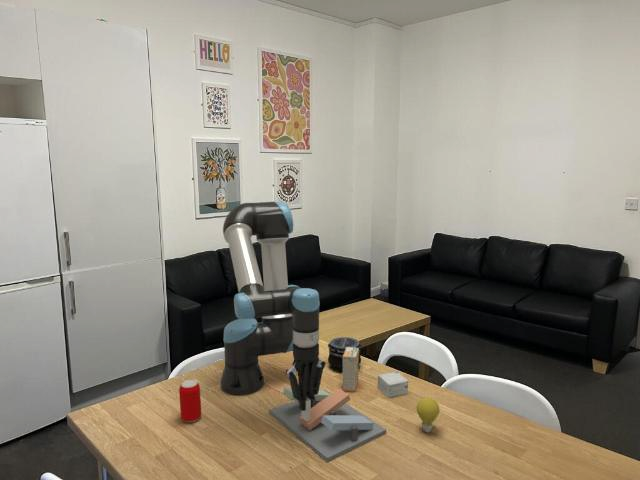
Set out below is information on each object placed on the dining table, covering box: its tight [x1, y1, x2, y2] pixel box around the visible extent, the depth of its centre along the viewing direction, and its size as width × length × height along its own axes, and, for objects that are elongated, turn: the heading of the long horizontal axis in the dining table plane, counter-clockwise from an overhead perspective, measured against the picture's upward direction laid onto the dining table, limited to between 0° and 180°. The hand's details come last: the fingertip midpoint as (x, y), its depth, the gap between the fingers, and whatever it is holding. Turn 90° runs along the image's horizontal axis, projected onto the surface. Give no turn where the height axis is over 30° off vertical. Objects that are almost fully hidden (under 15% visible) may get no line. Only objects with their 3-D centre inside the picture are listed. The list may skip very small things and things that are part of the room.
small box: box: [377, 371, 409, 399], centre depth 165 cm, size 8×8×5 cm
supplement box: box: [341, 347, 359, 393], centre depth 168 cm, size 8×5×13 cm, turn 168°
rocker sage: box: [282, 387, 330, 401], centre depth 153 cm, size 6×16×2 cm, turn 127°
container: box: [327, 336, 362, 374], centre depth 183 cm, size 13×13×10 cm
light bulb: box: [416, 397, 441, 433], centre depth 142 cm, size 7×7×10 cm
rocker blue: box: [321, 415, 374, 431], centre depth 138 cm, size 6×16×2 cm, turn 127°
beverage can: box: [178, 379, 202, 423], centre depth 148 cm, size 6×6×12 cm
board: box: [269, 389, 387, 463], centre depth 146 cm, size 30×22×5 cm
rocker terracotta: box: [299, 388, 351, 430], centre depth 145 cm, size 6×16×2 cm, turn 127°
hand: (306, 418), depth 141 cm, fingers closed
